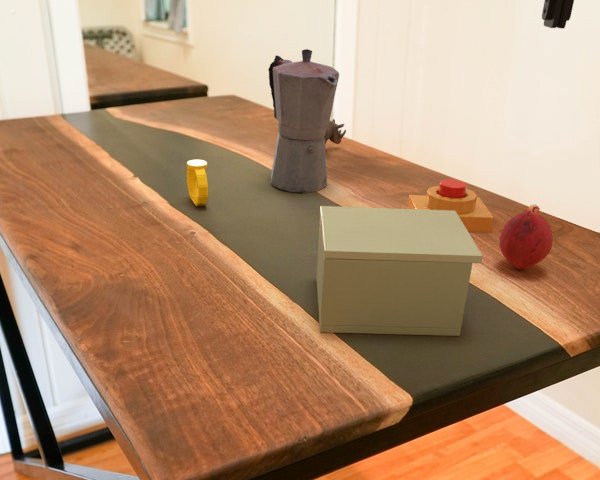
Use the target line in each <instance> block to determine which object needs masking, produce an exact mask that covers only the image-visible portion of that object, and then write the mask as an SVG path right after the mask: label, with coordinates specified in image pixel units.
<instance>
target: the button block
mask: <svg viewBox="0 0 600 480" xmlns="http://www.w3.org/2000/svg"><path fill="white" fill-rule="evenodd" d="M438 192H439V185H435V186H430V188H428V189H427V190H426V195H423V194H419V195H418V194H409V195H408V203H407V209H423V210H452V211H456V213H457V214H458V216H459V218H460V219H461V221H462V223H463V224H464V226H465V228H466V229H467V231H468V232H469V233H492V230H493V224H494V219H495V218H494V215H493V214H492V213H491V211H490V210H489V209H488V208H487V206H486V205H485V203H484V202H483V201H482V199H481V198H480V197H479V196H478V195H477V193H476V192H475V191H473V190H471V189H468V188H467V189H466V195H465V198H460V199H459V198H448V197H443V196H441V195H438Z"/></svg>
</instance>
